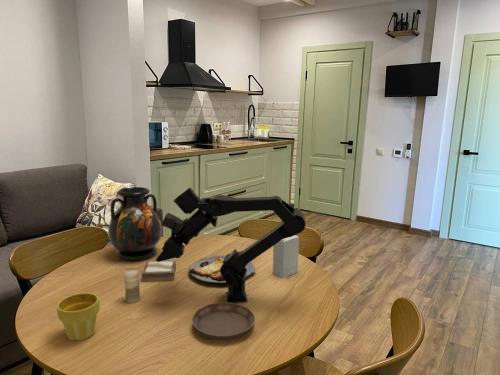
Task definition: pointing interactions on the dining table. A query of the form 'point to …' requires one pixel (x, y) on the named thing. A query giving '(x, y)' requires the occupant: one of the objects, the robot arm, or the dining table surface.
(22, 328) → the dining table surface
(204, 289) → the dining table surface
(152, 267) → the plinth
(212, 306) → the plant saucer
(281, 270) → the skincare box
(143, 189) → the amphora vase
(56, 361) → the dining table surface
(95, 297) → the plant pot
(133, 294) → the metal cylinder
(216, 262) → the food plate
